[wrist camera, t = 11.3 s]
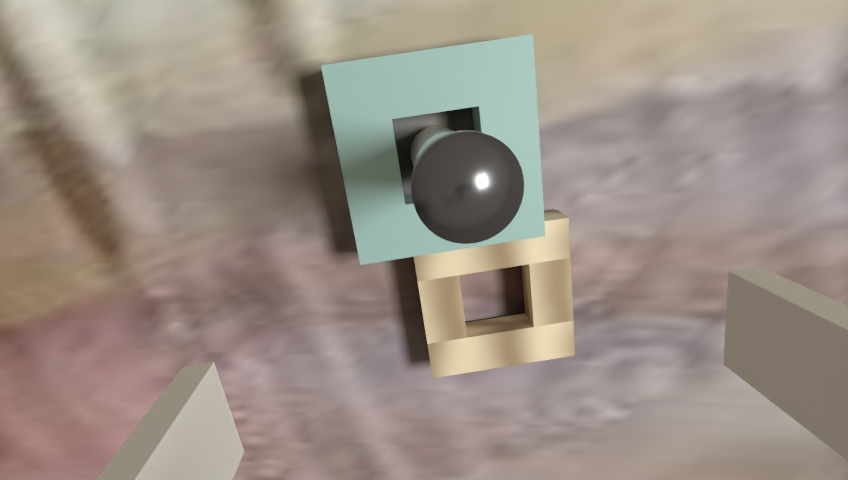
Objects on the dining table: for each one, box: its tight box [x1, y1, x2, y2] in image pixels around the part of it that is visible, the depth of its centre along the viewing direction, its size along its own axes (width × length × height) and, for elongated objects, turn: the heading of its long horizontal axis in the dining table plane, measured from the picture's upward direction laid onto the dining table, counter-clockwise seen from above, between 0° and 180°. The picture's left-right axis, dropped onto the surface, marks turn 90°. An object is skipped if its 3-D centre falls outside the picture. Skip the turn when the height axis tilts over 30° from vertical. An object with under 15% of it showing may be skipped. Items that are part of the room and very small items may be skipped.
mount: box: [414, 210, 575, 378], centre depth 37 cm, size 12×12×2 cm
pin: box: [410, 126, 524, 244], centre depth 27 cm, size 5×5×15 cm
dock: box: [321, 34, 545, 265], centre depth 33 cm, size 14×14×3 cm
